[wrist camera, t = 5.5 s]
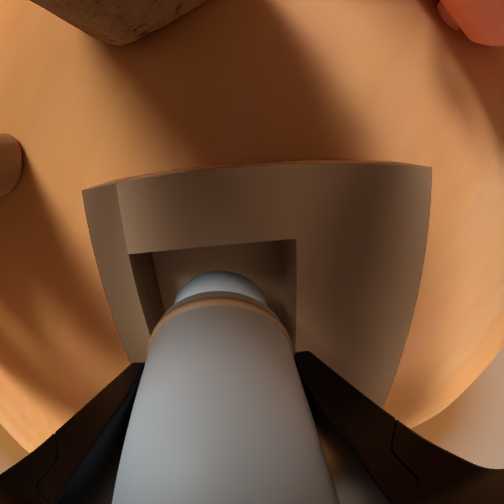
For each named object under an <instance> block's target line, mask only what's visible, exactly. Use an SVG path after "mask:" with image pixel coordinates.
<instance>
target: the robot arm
mask: <svg viewBox="0 0 504 504" xmlns="http://www.w3.org/2000/svg"><path fill="white" fill-rule="evenodd" d="M294 361H295V364H296V367H297V370H298V373H299V376H300V379H301V382H302V385H303V388H304V392H305V395H306V398H307V401H308V404H309V407H310V410H311V413H312V416H313V420H314V423H315V426H316V429H317V432H318V435H319V438H320V442H321V445H322V448H323V451H324V454H325V457H326V460H327V464H328V467H329V470H330V473H331V476H332V479H333V483H334V486H335V489H336V492H337V495H338V499H339V502H340V504H504V469H489V468H484V467H481V466H478V465H475V464H473V463H471V462H469V461H466V460H464V459H462V458H460V457H458V456H456V455H454V454H452V453H450V452H448V451H446V450H444V449H442V448H441V447H439V446H437V445H435V444H433V443H432V442H430V441H428V440H426V439H424V438H423V437H421V436H420V435H418V434H417V433H415V432H414V431H412V430H411V429H410V428H408V427H407V426H405V425H404V424H403V423H401V422H400V421H399V420H396V421H395V418H394V417H393V416H392V415H390V414H389V413H388V412H386V411H385V410H384V409H382V408H381V407H380V406H378V405H377V404H376V403H374V402H373V401H372V400H371V399H369V398H368V397H367V396H365V395H364V394H363V393H362V392H360V391H359V390H358V389H356V388H355V387H354V386H353V385H351V384H350V383H349V382H348V381H346V380H345V379H344V378H342V377H341V376H340V375H339V374H337V373H336V372H335V371H334V370H332V369H331V368H330V367H329V366H327V365H326V364H325V363H324V362H323V361H321V360H320V359H319V358H318V357H316V356H315V355H314V354H313V353H312V352H310V351H300V352H296V353H294ZM144 367H145V362H134V363H132V364H131V365H129V366H128V367H127V368H126V369H125V370H124V371H123V372H122V373H121V374H120V375H118V376H117V377H116V378H115V379H114V380H113V381H112V382H111V383H110V384H108V385H107V386H106V387H105V388H104V389H103V390H102V391H101V392H100V393H98V394H97V395H96V396H95V397H94V398H93V399H92V400H91V401H90V402H88V403H87V404H86V405H85V406H84V407H83V408H82V409H81V410H79V411H78V412H77V413H76V414H75V415H74V416H73V417H72V418H71V419H69V420H68V421H67V422H66V423H65V424H64V425H63V426H62V427H61V428H59V429H58V430H57V431H56V432H55V434H53V435H52V436H50V437H49V438H48V439H47V440H46V441H45V442H44V443H42V444H41V445H40V446H39V447H38V448H36V449H35V450H34V451H33V452H31V453H30V454H29V455H28V456H26V457H25V458H23V459H22V460H21V461H19V462H18V463H16V464H15V465H13V466H12V467H11V468H9V469H8V470H6V471H5V472H3V473H2V474H0V504H112V500H113V494H114V489H115V483H116V478H117V473H118V468H119V464H120V459H121V454H122V450H123V445H124V441H125V437H126V433H127V429H128V425H129V421H130V417H131V413H132V409H133V405H134V402H135V398H136V394H137V391H138V387H139V384H140V380H141V377H142V373H143V370H144Z"/></svg>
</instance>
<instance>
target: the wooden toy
mask: <svg viewBox="0 0 504 504" xmlns="http://www.w3.org/2000/svg"><path fill="white" fill-rule="evenodd" d="M21 171H22V151H21V148H20V145H19V143H18V142H17V140H16V139H15V138H14V137H13V136H11V135H9V134H0V196H3V195H6V194H8V193H9V192H10V191H11V190H12V189H13V188H14V187H15V186H16V184H17V182H18V180H19V177H20V174H21Z"/></svg>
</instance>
